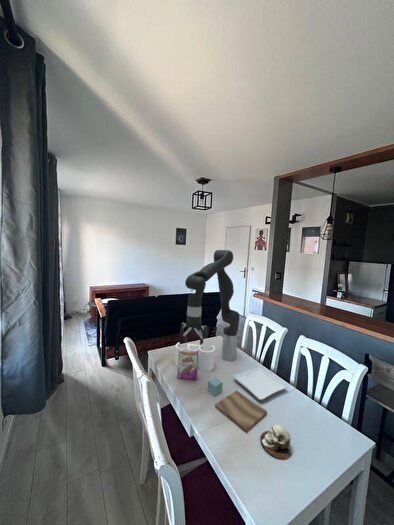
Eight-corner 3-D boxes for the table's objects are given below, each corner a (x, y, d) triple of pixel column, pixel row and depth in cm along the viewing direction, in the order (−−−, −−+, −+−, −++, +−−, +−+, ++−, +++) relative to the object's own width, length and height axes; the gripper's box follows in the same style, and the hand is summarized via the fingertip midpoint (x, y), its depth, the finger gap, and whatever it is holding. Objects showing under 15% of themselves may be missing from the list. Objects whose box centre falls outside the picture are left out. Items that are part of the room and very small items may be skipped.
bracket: (173, 367, 137) (174, 348, 135) (176, 359, 146) (177, 341, 145) (213, 371, 134) (214, 352, 133) (214, 363, 144) (215, 345, 142)
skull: (266, 459, 80) (261, 424, 86) (259, 456, 89) (256, 424, 95) (299, 460, 80) (292, 425, 86) (289, 456, 88) (284, 425, 95)
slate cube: (214, 386, 121) (215, 377, 120) (222, 391, 117) (222, 382, 116) (207, 390, 117) (207, 380, 116) (214, 396, 113) (215, 386, 112)
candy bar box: (177, 378, 126) (178, 351, 124) (178, 373, 131) (179, 347, 129) (196, 380, 125) (198, 353, 123) (197, 375, 129) (199, 348, 128)
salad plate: (287, 391, 120) (288, 385, 119) (260, 405, 108) (260, 399, 108) (257, 371, 138) (258, 366, 137) (231, 381, 126) (232, 375, 126)
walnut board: (236, 393, 116) (236, 390, 116) (266, 414, 103) (267, 411, 102) (215, 407, 106) (215, 404, 105) (246, 432, 92) (246, 429, 92)
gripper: (208, 313, 118) (207, 342, 119) (183, 310, 121) (182, 338, 123) (206, 317, 110) (204, 348, 112) (179, 314, 114) (178, 344, 115)
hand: (193, 343), depth 117 cm, fingers open, 8 cm apart
